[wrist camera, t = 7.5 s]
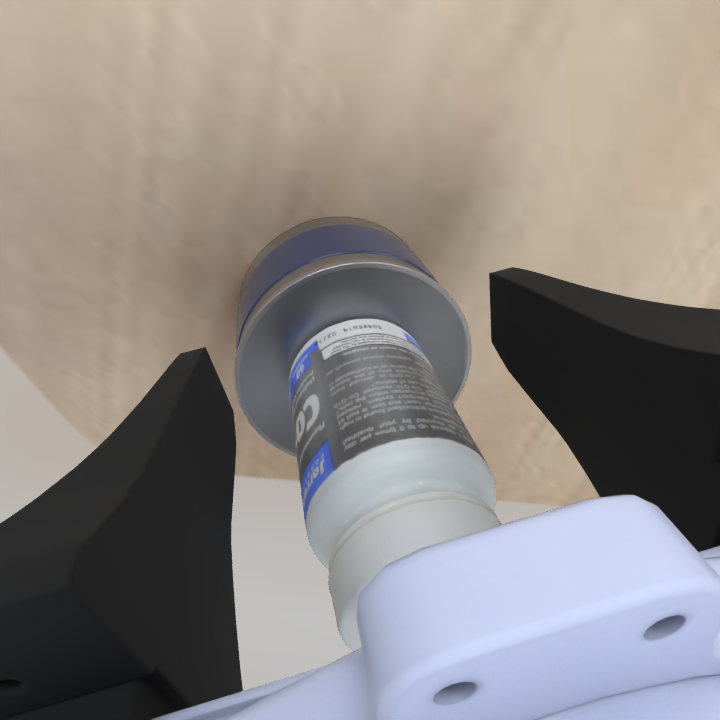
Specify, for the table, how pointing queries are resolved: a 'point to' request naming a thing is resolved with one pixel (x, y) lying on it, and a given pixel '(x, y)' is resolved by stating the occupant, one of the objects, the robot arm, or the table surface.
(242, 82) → the table surface
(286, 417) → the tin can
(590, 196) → the table surface
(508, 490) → the table surface
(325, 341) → the pill bottle
